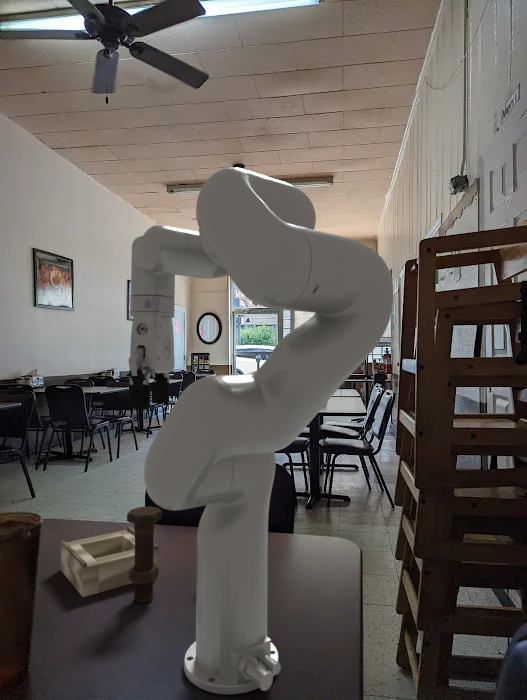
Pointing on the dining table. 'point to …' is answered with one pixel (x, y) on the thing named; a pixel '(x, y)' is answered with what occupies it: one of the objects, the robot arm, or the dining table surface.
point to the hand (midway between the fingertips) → (150, 406)
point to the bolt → (144, 551)
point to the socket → (100, 561)
